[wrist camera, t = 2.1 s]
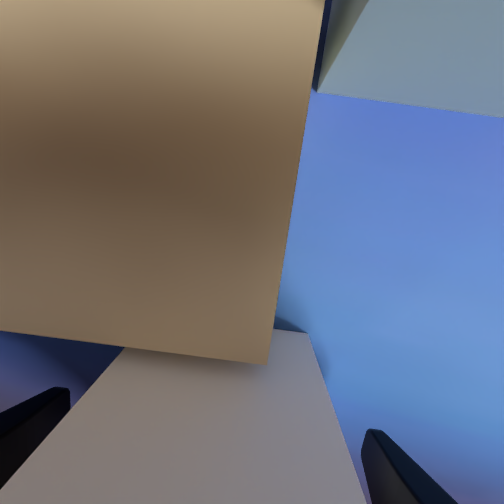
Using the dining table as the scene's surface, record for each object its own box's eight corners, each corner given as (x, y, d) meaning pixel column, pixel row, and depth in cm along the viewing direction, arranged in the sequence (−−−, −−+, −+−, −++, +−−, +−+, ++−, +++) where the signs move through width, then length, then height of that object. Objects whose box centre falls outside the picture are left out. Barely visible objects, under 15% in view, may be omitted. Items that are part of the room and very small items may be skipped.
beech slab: (264, 307, 9) (267, 365, 6) (28, 277, 9) (-89, 319, 6) (305, 32, 7) (338, -85, 4) (9, -6, 7) (-173, -151, 4)
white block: (283, 454, 10) (321, 860, 4) (149, 436, 10) (-23, 814, 4) (307, 332, 9) (412, 637, 3) (155, 312, 9) (-72, 572, 3)
